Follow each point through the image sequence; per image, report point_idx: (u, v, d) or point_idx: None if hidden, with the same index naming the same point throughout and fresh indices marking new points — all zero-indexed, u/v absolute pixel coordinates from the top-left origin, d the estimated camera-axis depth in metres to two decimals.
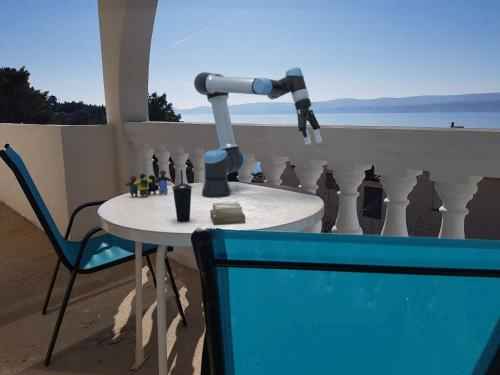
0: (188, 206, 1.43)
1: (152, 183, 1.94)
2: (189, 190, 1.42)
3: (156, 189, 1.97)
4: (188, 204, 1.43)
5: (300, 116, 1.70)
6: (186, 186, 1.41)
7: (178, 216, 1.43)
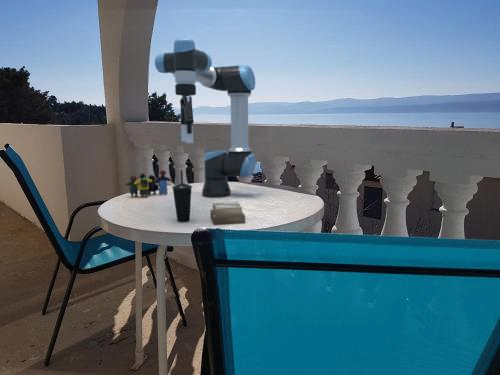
0: (188, 206, 1.43)
1: (152, 183, 1.94)
2: (189, 190, 1.42)
3: (156, 189, 1.97)
4: (188, 204, 1.43)
5: None
6: (186, 186, 1.41)
7: (178, 216, 1.43)
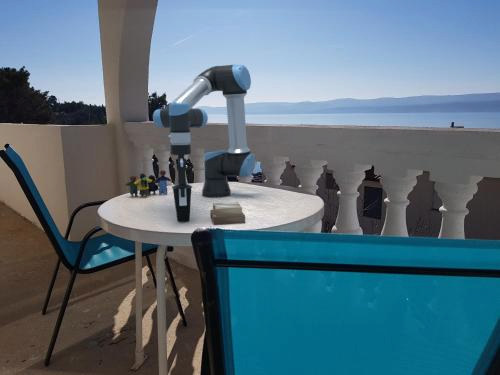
0: (188, 206, 1.43)
1: (152, 183, 1.94)
2: (189, 190, 1.42)
3: (156, 189, 1.97)
4: (188, 204, 1.43)
5: None
6: (186, 186, 1.41)
7: (178, 216, 1.43)
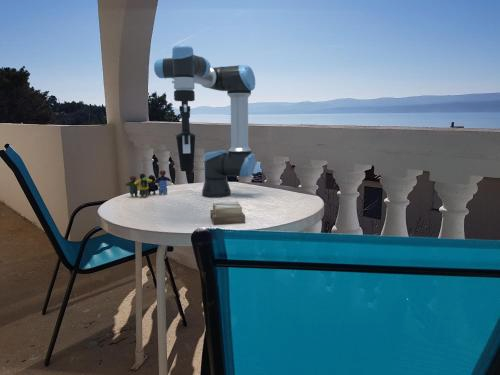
0: (192, 155, 1.39)
1: (152, 183, 1.94)
2: (193, 138, 1.38)
3: (156, 189, 1.97)
4: (192, 153, 1.39)
5: None
6: (190, 134, 1.38)
7: (181, 165, 1.40)
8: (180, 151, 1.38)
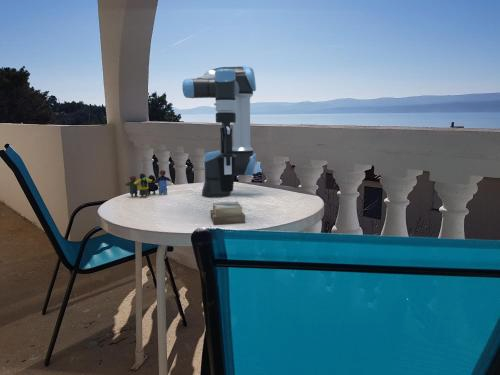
0: (232, 175, 1.41)
1: (152, 183, 1.94)
2: (234, 159, 1.40)
3: (156, 189, 1.97)
4: (232, 173, 1.41)
5: None
6: None
7: (222, 186, 1.41)
8: (221, 172, 1.40)
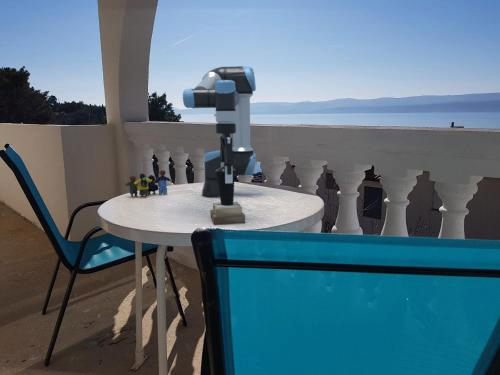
0: (232, 189, 1.42)
1: (152, 183, 1.94)
2: (233, 173, 1.41)
3: (156, 189, 1.97)
4: (232, 187, 1.42)
5: None
6: None
7: (222, 199, 1.43)
8: (221, 186, 1.41)
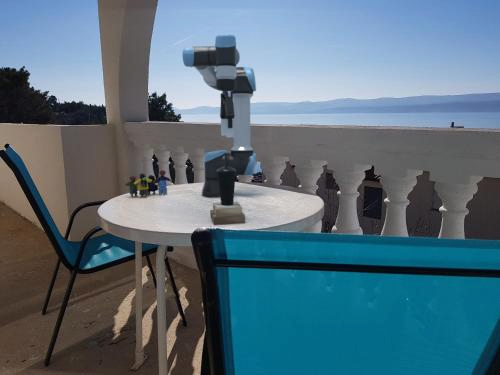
0: (232, 189, 1.42)
1: (152, 183, 1.94)
2: (234, 173, 1.41)
3: (155, 189, 1.97)
4: (233, 187, 1.42)
5: None
6: (231, 169, 1.40)
7: (222, 200, 1.43)
8: (221, 186, 1.41)
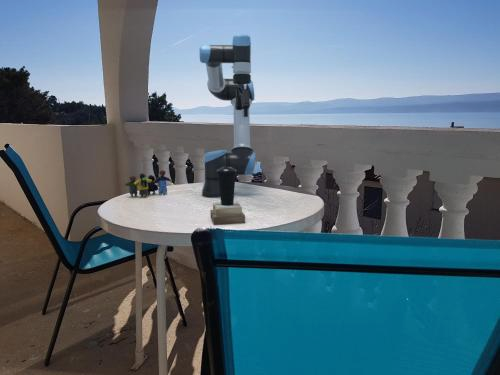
0: (233, 189, 1.42)
1: (151, 183, 1.94)
2: (234, 173, 1.41)
3: (155, 189, 1.97)
4: (233, 187, 1.42)
5: None
6: (231, 169, 1.41)
7: (223, 199, 1.43)
8: (222, 186, 1.41)
